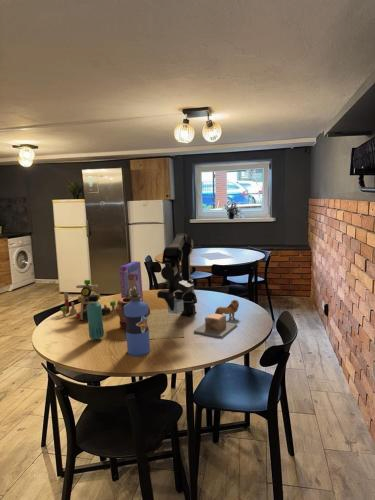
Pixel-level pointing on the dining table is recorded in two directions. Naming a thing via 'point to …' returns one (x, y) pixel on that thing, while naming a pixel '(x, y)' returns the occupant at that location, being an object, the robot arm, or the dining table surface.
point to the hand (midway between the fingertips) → (175, 308)
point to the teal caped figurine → (95, 318)
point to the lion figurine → (228, 309)
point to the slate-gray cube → (177, 306)
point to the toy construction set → (84, 302)
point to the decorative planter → (120, 311)
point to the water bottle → (137, 326)
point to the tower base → (216, 333)
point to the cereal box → (130, 279)
